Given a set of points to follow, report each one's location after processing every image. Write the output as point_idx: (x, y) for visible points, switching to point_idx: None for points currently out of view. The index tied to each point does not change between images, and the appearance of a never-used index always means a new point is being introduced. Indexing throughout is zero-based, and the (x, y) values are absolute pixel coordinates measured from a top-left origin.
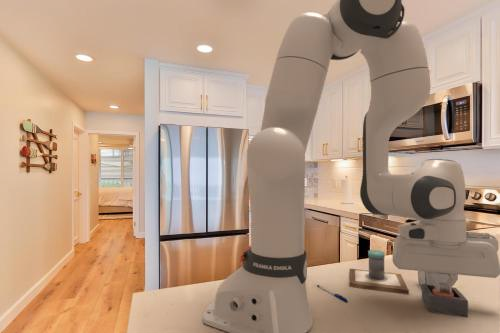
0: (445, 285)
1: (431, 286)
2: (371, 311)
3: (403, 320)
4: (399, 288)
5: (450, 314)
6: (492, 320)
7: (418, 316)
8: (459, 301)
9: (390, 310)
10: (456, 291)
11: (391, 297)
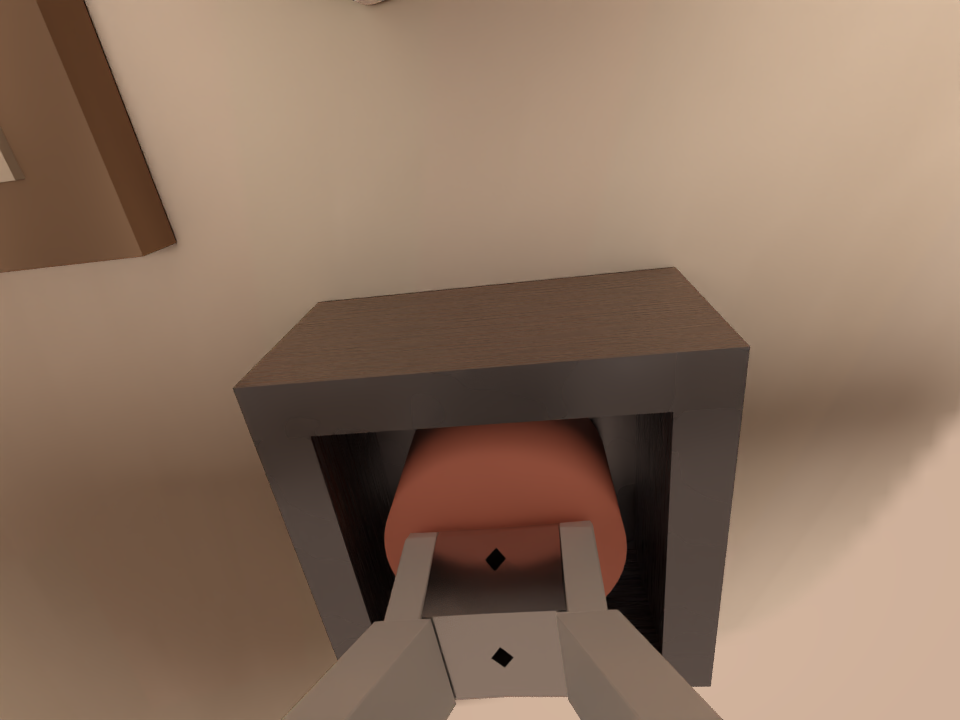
0: (526, 694)
1: (374, 431)
2: (57, 657)
3: (247, 691)
4: (30, 243)
5: None
6: (851, 522)
7: (320, 630)
8: None
9: (145, 614)
10: (690, 493)
11: (62, 403)
